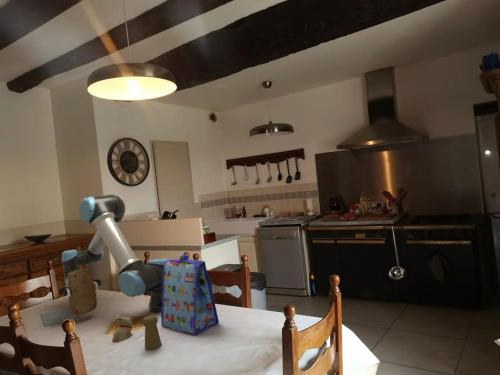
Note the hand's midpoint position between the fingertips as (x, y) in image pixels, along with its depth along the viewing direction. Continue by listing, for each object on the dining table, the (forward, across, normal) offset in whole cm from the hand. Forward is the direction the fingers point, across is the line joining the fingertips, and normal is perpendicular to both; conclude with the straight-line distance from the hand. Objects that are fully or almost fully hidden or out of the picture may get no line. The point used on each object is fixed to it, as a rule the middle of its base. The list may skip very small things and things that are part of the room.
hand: (83, 290), depth 168 cm
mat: (-22, +9, -14) cm, 28 cm away
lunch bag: (+44, -31, -16) cm, 56 cm away
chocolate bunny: (+34, -7, -15) cm, 38 cm away
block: (-4, 0, -11) cm, 12 cm away
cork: (+52, -13, -15) cm, 56 cm away
